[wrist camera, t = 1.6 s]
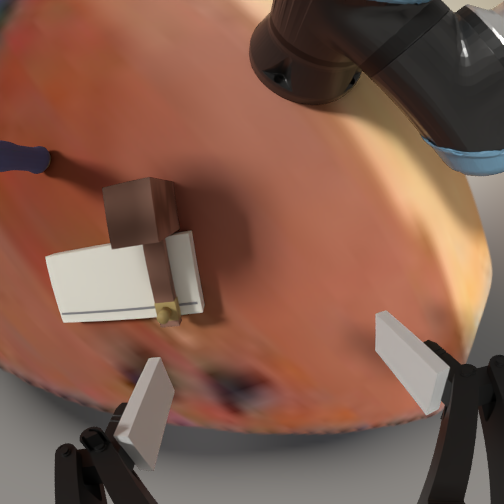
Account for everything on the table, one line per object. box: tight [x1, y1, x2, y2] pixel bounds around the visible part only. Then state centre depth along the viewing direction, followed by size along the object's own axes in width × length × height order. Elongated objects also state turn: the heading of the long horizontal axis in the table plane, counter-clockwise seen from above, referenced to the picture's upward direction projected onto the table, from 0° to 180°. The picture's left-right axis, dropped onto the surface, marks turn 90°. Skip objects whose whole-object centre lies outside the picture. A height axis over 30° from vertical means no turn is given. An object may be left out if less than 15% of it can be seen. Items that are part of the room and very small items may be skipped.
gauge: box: [102, 177, 182, 327], centre depth 30 cm, size 17×5×10 cm, turn 7°
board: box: [45, 230, 205, 322], centre depth 34 cm, size 10×22×3 cm, turn 97°
